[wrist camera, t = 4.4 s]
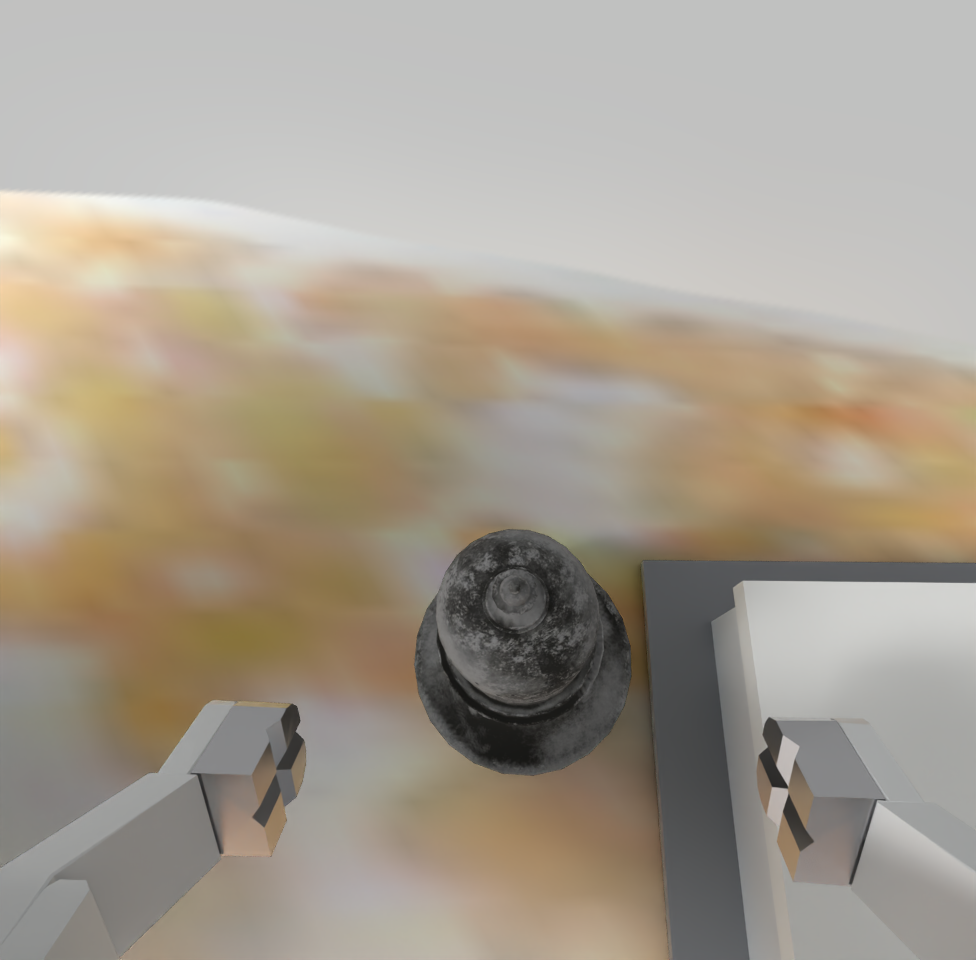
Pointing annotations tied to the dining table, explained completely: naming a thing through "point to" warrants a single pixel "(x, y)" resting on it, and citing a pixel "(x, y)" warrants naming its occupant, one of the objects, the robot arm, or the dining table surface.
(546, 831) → the dining table surface
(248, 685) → the dining table surface
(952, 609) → the grey mounting plate
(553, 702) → the dark grey upright figurine
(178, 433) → the dining table surface
